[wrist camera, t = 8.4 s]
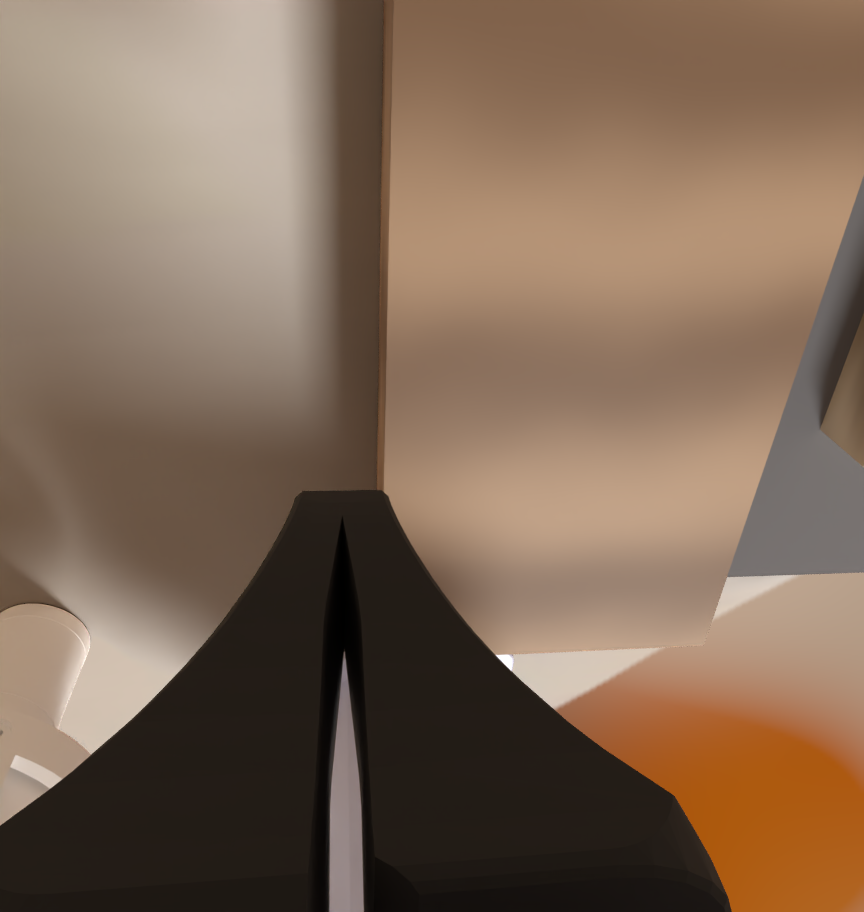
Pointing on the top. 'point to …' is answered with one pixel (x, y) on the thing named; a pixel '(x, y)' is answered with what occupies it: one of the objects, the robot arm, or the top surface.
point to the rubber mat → (813, 446)
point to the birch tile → (849, 403)
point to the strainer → (37, 701)
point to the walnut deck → (601, 293)
